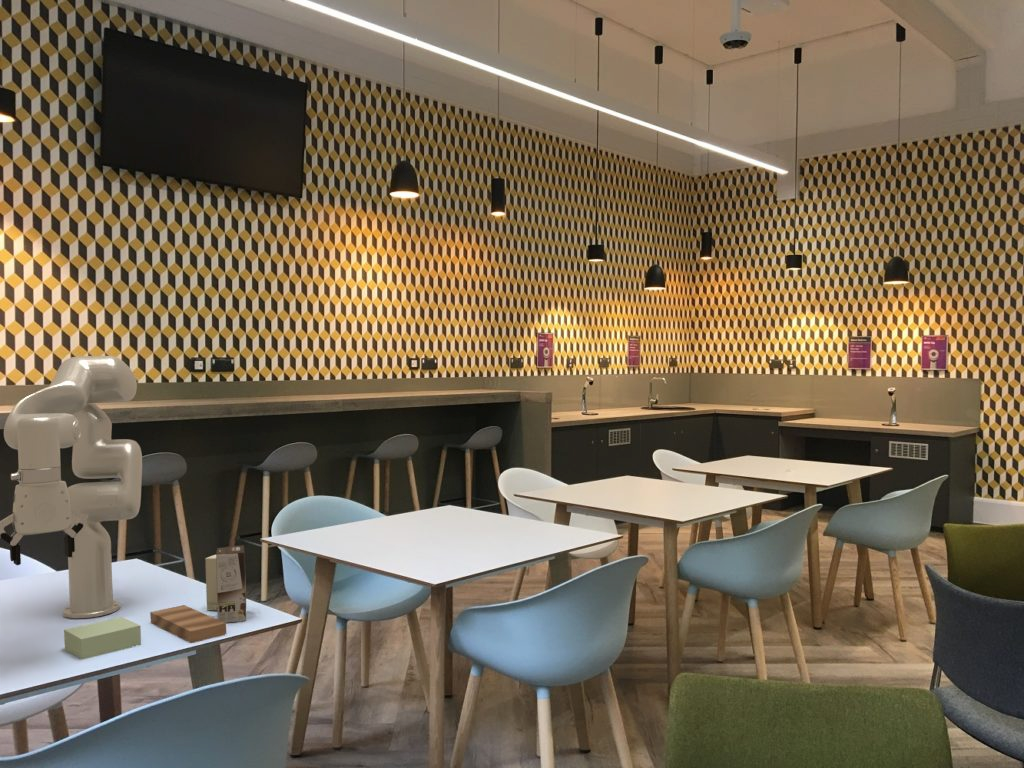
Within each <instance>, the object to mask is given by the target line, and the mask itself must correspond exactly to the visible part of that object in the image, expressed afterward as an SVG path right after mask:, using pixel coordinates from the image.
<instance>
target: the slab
mask: <svg viewBox="0 0 1024 768" xmlns="http://www.w3.org/2000/svg"><path fill="white" fill-rule="evenodd" d="M141 629H142V628H141V625H140V624H138V623H136V622H134V621H131V620H130V619H128V618H125V617H122V616H119V617H116V618H115V617H114V618H111V619H110V618H109V619H106V620H101V621H97V622H93V623H89V624H88V623H87V624H84V625H79V626H74V627H69V628H65V629H63V633H64V635H63V638H64V650H66V651H67V652H69V653H71V654H72V655H74V656H76V657H77V658H79V659H81V660H87V659H89V658H93V657H98V656H101V655H102V656H103V655H105V654H106V655H107V654H110V653H114V652H117V651H122V650H125V648H126V649H129V647H130V648H133V647H132V646H134V647H137V646H136V645H138V646H142V636H141V635H142V634H141V633H142V632H141ZM121 649H122V650H121Z"/></svg>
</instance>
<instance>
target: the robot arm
mask: <svg viewBox="0 0 1024 768" xmlns="http://www.w3.org/2000/svg"><path fill="white" fill-rule="evenodd" d="M137 382H138V381H137V378H136V375H135V374H134V372H133V370H132V369H131V368H130V367H129V365H128V364H126V363H125V361H123V360H122V359H121V358H119V357H117V356H114V355H88V356H87V355H86V356H85V355H82V356H81V355H79V356H73V357H69V358H67V359H65V360H64V361H63V362H61V364H60V365H59V367H58V368H57V371H56V373H55V375H54V376H53V379H52V380H51V383H50V384H49V386H46V387H44V388H41V389H39V390H38V391H35V392H34V393H32V394H30V395H27V396H26V397H24V398H21V400H19V401H18V402H16V403H15V405H14V406H13V408H12V409H11V411H10V413H9V415H8V416H7V418H6V420H5V423H4V427H3V428H4V429H3V438H4V441H5V442H6V445H8V447H10V449H14V450H17V453H18V454H17V456H18V457H17V458H18V469H17V472H14V473H10V480H11V481H17V482H18V483H19V484H16V485H15V489H14V494H13V500H12V501H13V504H12V514H9V515H8V516H7V517H5V518H3V519H1V520H0V539H2V540H3V541H4V542H5V543H7V544H9V558H10V562H13V564H15V566H20V565H22V562H21V561H22V560H21V559H22V558H21V556H22V555H21V545H20V544H19V542H20V541H21V539H22V538H23V537H24V536H30V535H31V536H33V535H39V534H46V533H47V534H48V533H54V532H61V531H63V532H64V534H65V536H64V538H63V543H64V545H63V546H64V547H63V548H64V556H65V557H67V562H68V563H67V564H68V566H67V567H68V589H69V591H68V592H69V606H67V607H66V608H65V607H64V608H63V610H62V616H63V617H65V618H68V619H88V618H95V617H102V616H106V615H109V614H113V613H115V612H117V611H119V609H120V608H121V603H120V602H119V601H117V600H114V592H113V591H114V590H113V571H112V570H113V565H112V541H111V540H112V539H111V537H110V534H109V532H108V531H107V529H106V528H105V527H104V526H103V525H102V524H101V523H100V522H109V521H110V522H112V521H123V520H124V521H125V520H132V519H134V518H136V517H137V516H138V514H139V512H140V508H141V499H142V477H143V454H142V449H141V446H140V445H139V443H138V442H137V441H136V440H133V439H125V438H124V439H123V438H121V439H119V438H118V439H112V431H113V430H112V428H113V427H112V426H113V424H112V421H111V419H110V417H109V416H108V415H107V413H106V412H105V411H103V410H102V408H100V407H99V406H98V405H97V404H99V403H102V404H104V403H127V402H129V401H132V400H133V399H134V397H135V396H136V394H137V388H138V383H137ZM70 447H72V455H71V458H72V459H71V469H72V472H73V474H74V475H75V476H76V477H77V478H79V479H87V480H88V479H92V480H93V479H114V478H116V479H118V478H119V479H120V481H119V480H118V481H117V480H116V481H94V482H93V481H92V482H81V483H79V482H78V483H75V484H73V485H70V486H67V482H66V481H65V480H62V470H61V467H62V466H61V449H67V448H70ZM10 524H12V528H13V529H12V530H13V531H14V532H12V534H11V535H9V534H7V531H5V528H6V527H7V526H8V525H10Z"/></svg>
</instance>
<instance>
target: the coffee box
mask: <svg viewBox="0 0 1024 768" xmlns="http://www.w3.org/2000/svg"><path fill="white" fill-rule="evenodd" d="M215 555H216V570H217V602H218V610H217V619H218V620H220V621H222V622H225V623H226V624H228V623H239V622H240V623H241V622H246V620H247V582H246V581H247V579H246V577H247V576H246V575H247V574H246V553H245V545H235V546H234V545H231V546H225V547H217V548H216V554H215Z"/></svg>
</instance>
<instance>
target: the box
mask: <svg viewBox="0 0 1024 768" xmlns="http://www.w3.org/2000/svg"><path fill="white" fill-rule="evenodd" d="M204 560H205V584H206V585H205V589H206V593H205V594H206V610H207V611H218V602H217V570H216V554H214V555H213V554H212V555H211V556H208V557H205V558H204Z"/></svg>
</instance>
